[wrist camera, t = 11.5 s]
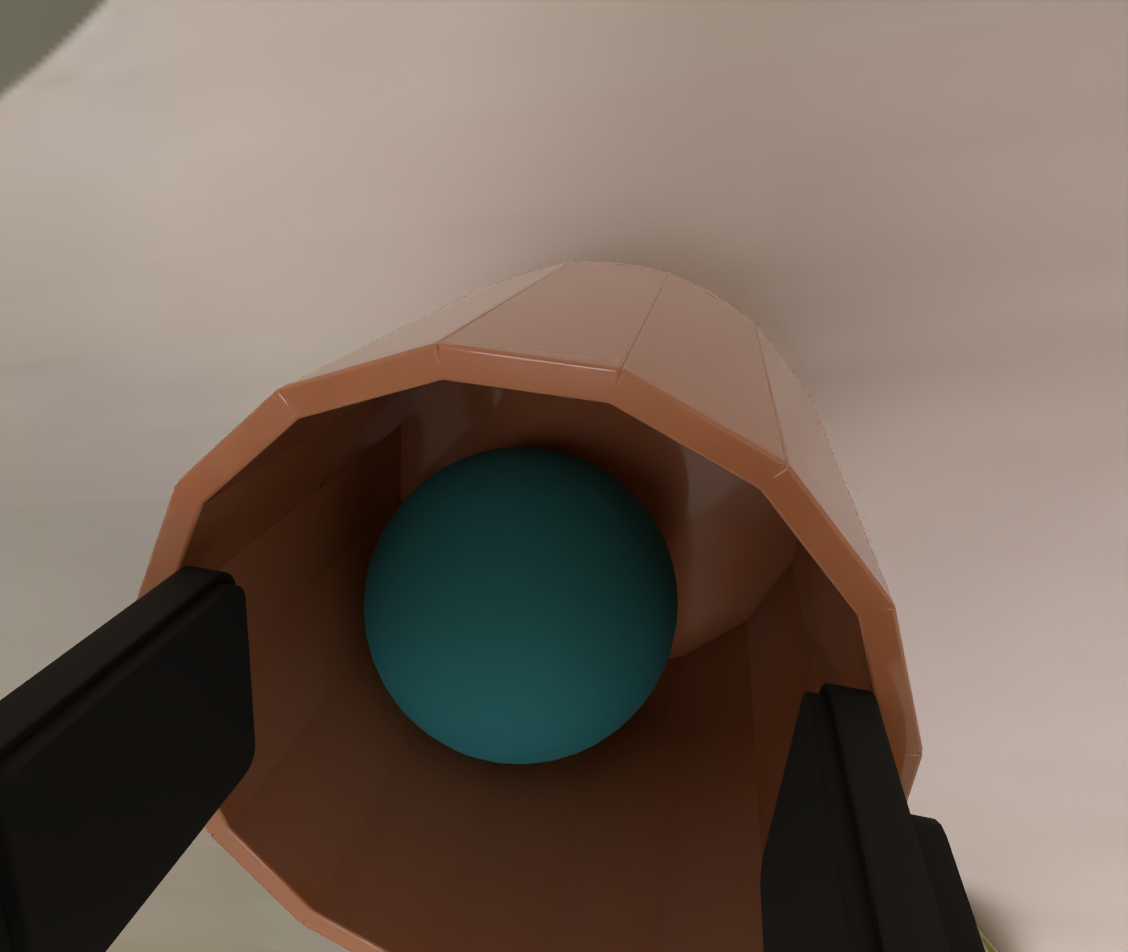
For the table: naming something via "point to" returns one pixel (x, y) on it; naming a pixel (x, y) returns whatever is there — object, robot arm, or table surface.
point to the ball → (520, 605)
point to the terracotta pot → (663, 722)
